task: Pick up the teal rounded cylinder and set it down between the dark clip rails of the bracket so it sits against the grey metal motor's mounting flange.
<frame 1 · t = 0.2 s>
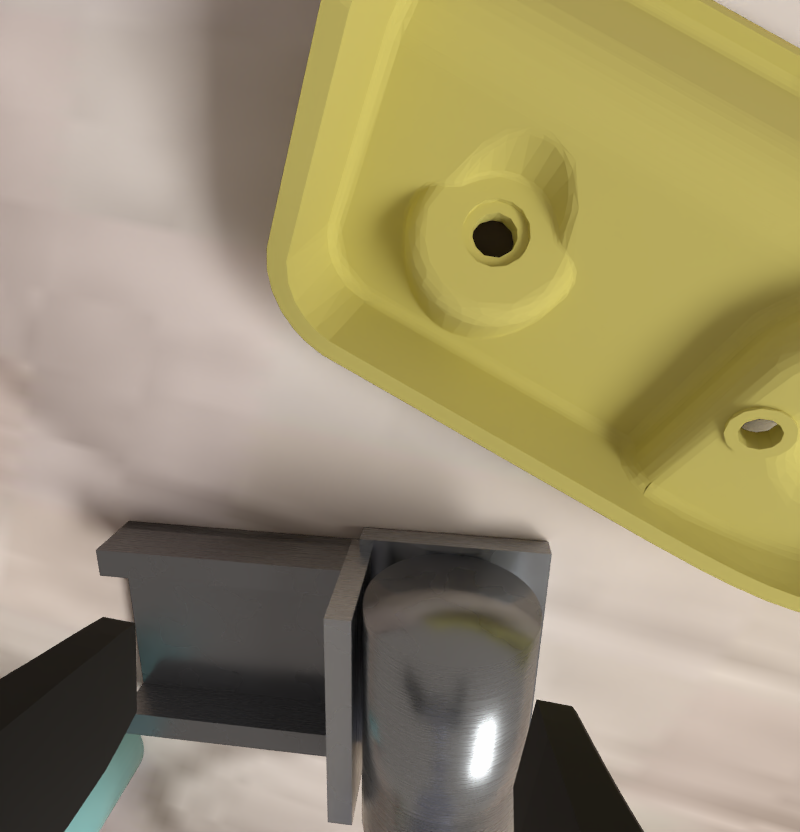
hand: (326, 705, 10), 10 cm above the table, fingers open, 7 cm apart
teal rounded cylinder: (95, 739, 25), on the table
plastic component: (638, 291, 17), on the table
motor: (447, 641, 22), on the table
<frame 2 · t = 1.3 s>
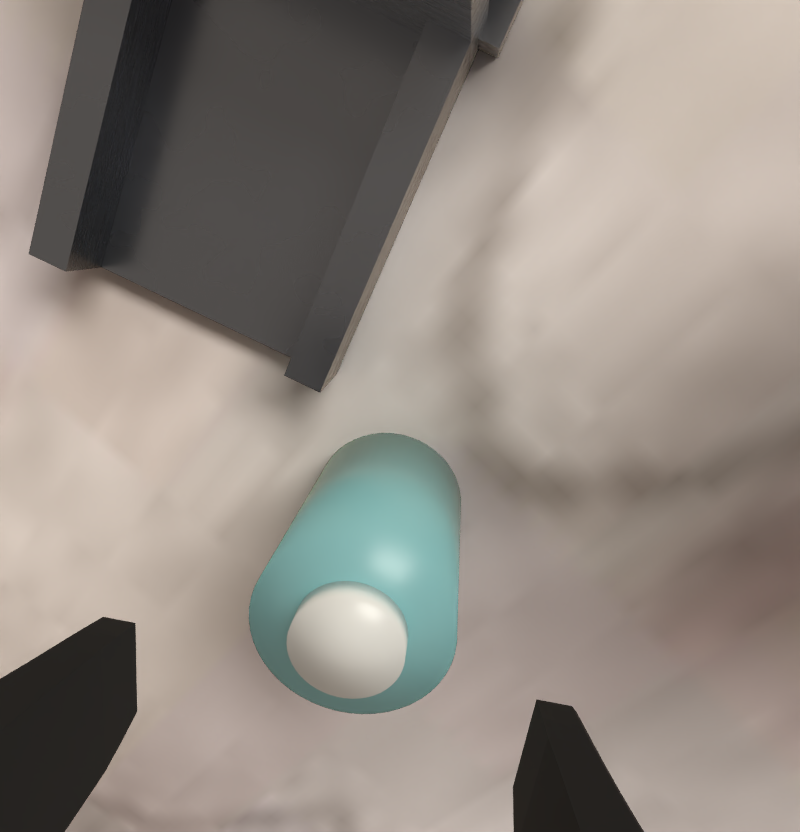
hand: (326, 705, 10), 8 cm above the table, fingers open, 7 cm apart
teal rounded cylinder: (388, 500, 18), on the table
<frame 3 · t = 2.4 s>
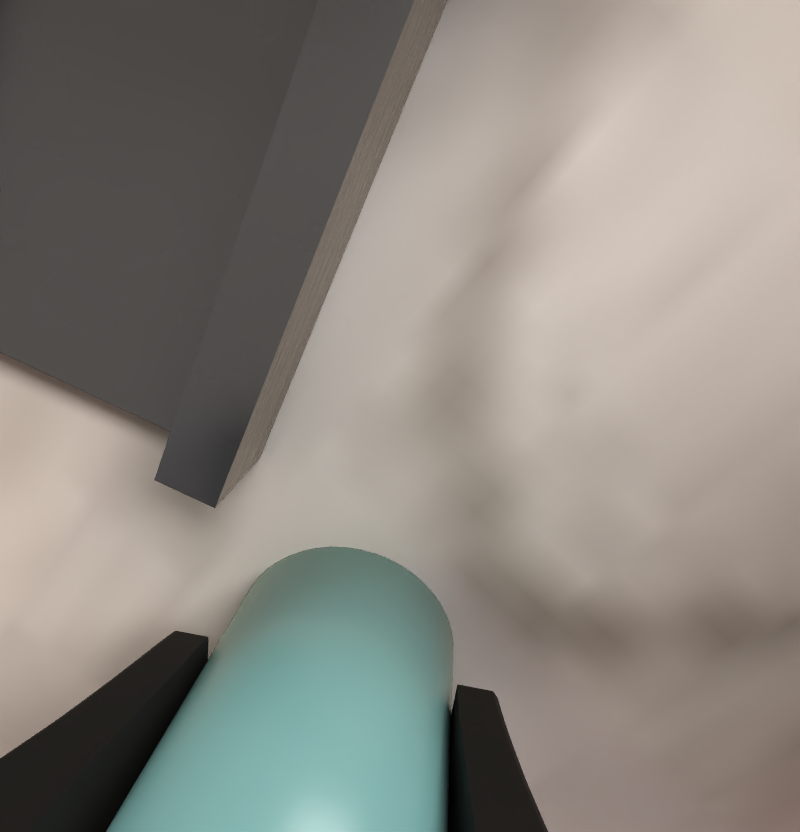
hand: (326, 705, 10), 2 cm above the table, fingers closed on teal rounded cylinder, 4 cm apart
teal rounded cylinder: (344, 642, 12), on the table, touching gripper
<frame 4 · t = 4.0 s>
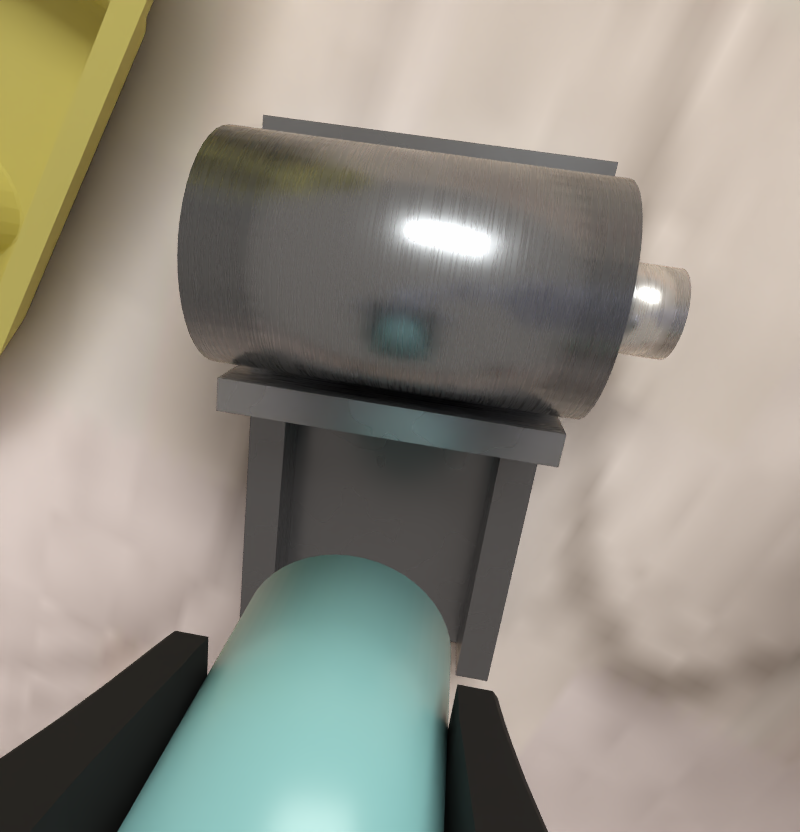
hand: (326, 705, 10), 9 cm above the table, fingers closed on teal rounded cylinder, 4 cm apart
teal rounded cylinder: (345, 646, 12), point 7 cm above the table, touching gripper
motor: (421, 266, 16), on the table
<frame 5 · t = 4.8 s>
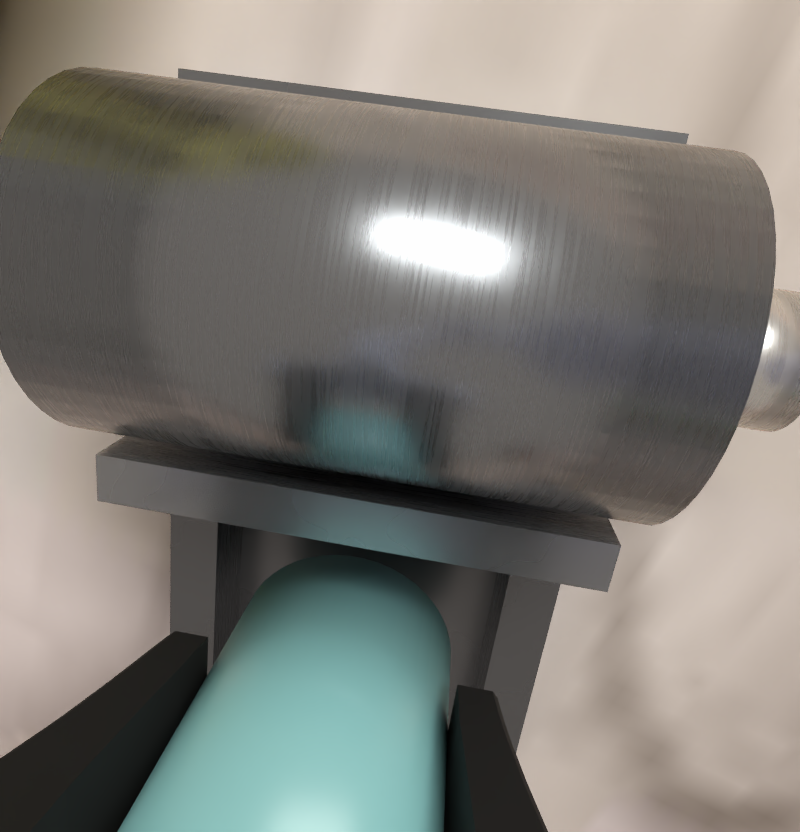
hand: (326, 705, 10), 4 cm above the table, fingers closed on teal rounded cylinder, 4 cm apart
teal rounded cylinder: (345, 646, 12), point 2 cm above the table, touching gripper
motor: (406, 281, 12), on the table
when the fingers open (3 cm above the table, at t = 5.5 s): teal rounded cylinder stays where it is, resting on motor.
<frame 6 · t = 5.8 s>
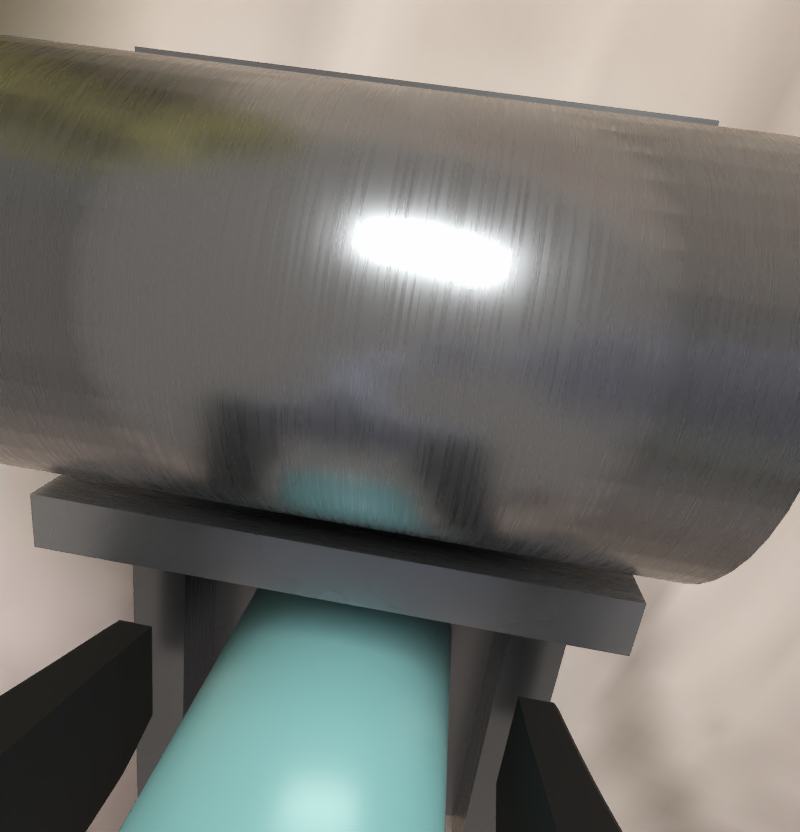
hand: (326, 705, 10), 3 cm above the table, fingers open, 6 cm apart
teal rounded cylinder: (349, 632, 13), point 1 cm above the table, touching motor
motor: (396, 288, 11), on the table
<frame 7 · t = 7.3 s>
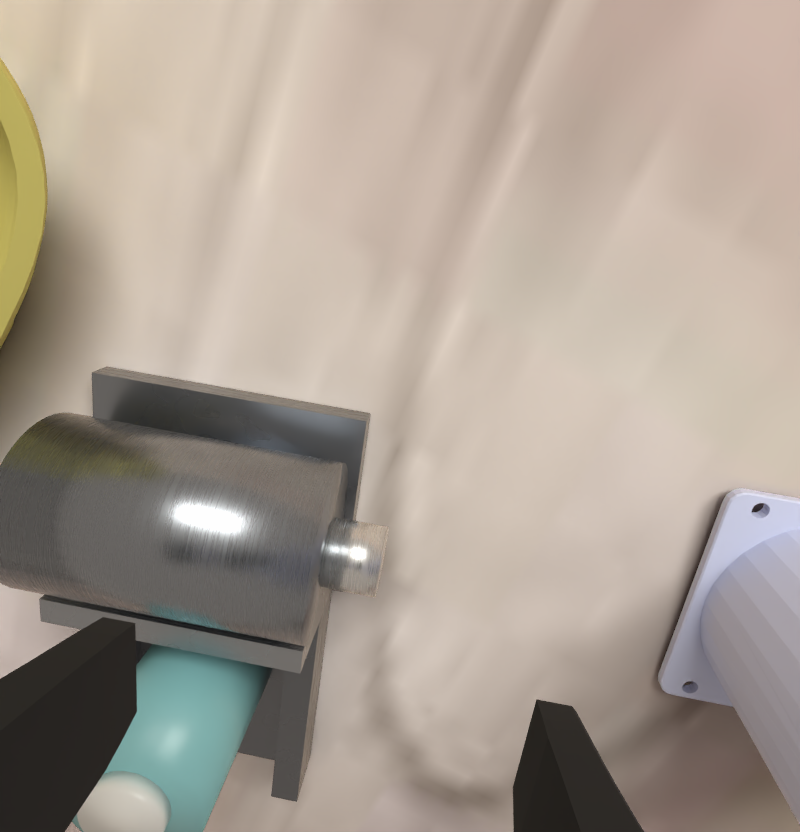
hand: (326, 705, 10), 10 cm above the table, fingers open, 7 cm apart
teal rounded cylinder: (216, 654, 22), point 1 cm above the table, touching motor
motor: (231, 476, 20), on the table
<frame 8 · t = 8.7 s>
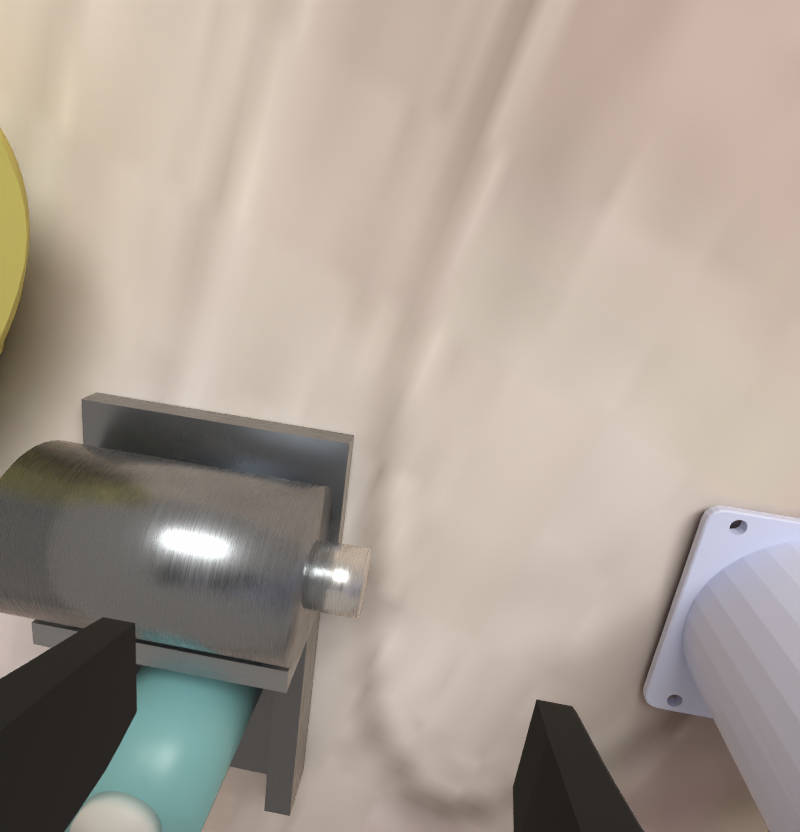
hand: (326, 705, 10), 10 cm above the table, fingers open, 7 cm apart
teal rounded cylinder: (208, 671, 22), resting on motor
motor: (220, 498, 21), on the table
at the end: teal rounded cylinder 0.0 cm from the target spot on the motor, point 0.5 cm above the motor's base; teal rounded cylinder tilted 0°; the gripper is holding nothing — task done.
